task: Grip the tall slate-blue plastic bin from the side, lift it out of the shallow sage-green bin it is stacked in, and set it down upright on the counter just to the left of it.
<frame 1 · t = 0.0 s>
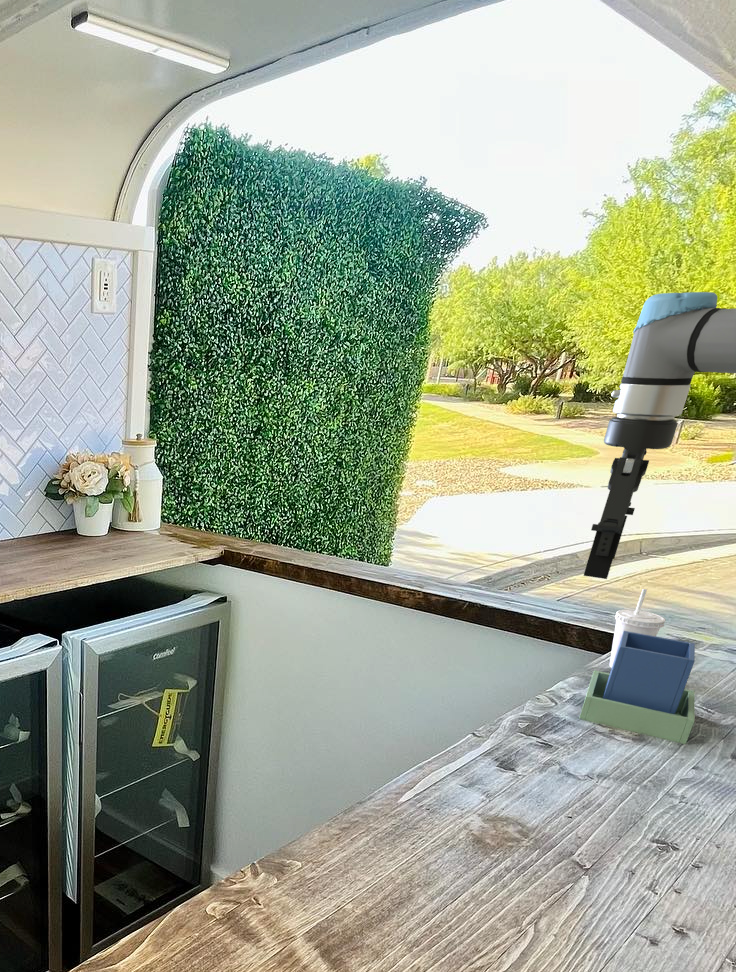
hand: (599, 566, 113), 20 cm above the countertop, tool pointing down, fingers open, 13 cm apart
upper bin: (633, 715, 110), point 1 cm above the countertop, touching lower bin
smoothie: (622, 671, 126), on the countertop
lower bin: (631, 719, 110), on the countertop
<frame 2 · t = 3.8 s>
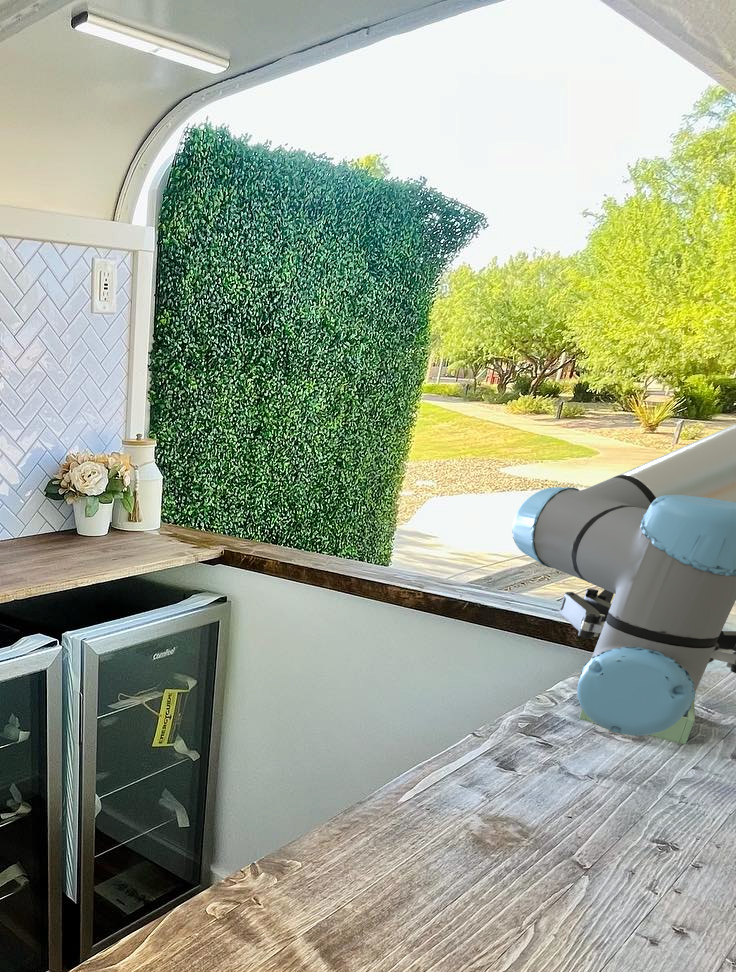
hand: (680, 611, 87), 22 cm above the countertop, tool horizontal, fingers open, 13 cm apart
nothing on the countertop moved.
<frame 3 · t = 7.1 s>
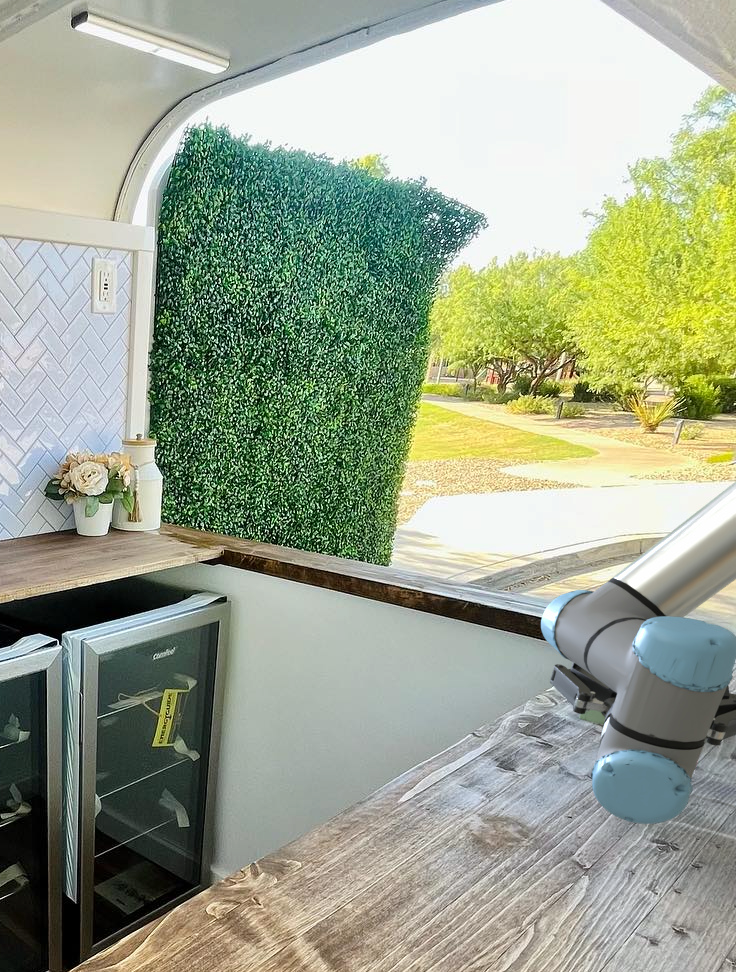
hand: (651, 673, 100), 10 cm above the countertop, tool horizontal, fingers open, 13 cm apart
nothing on the countertop moved.
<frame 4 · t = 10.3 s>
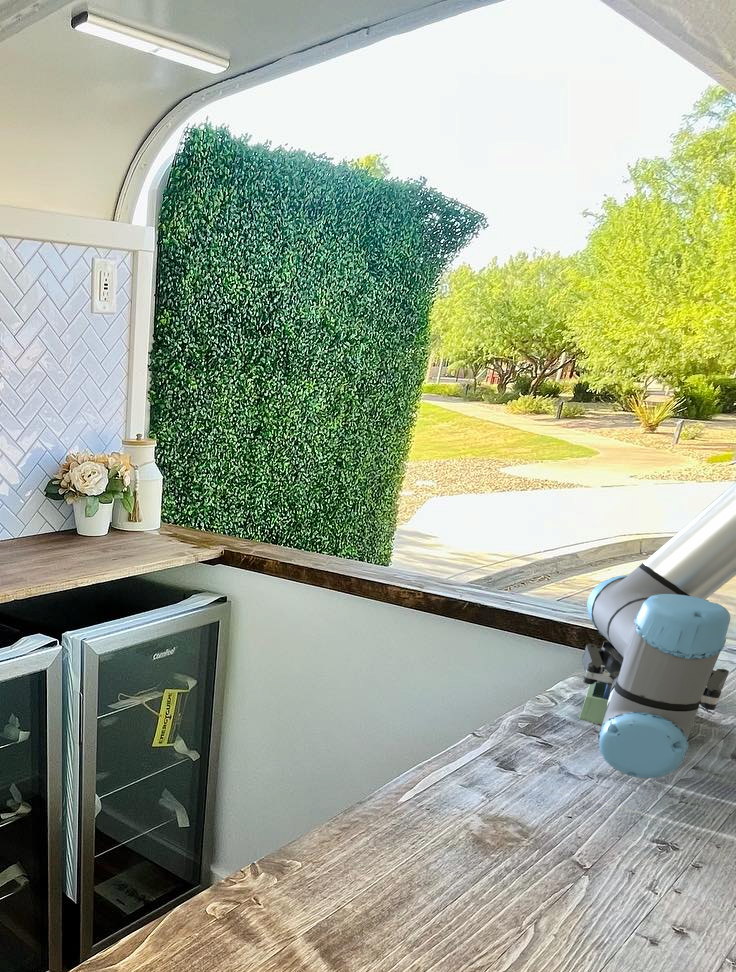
hand: (654, 648, 110), 9 cm above the countertop, tool horizontal, fingers closed on upper bin, 8 cm apart
upper bin: (633, 715, 110), point 1 cm above the countertop, touching gripper, lower bin
everything else where it was.
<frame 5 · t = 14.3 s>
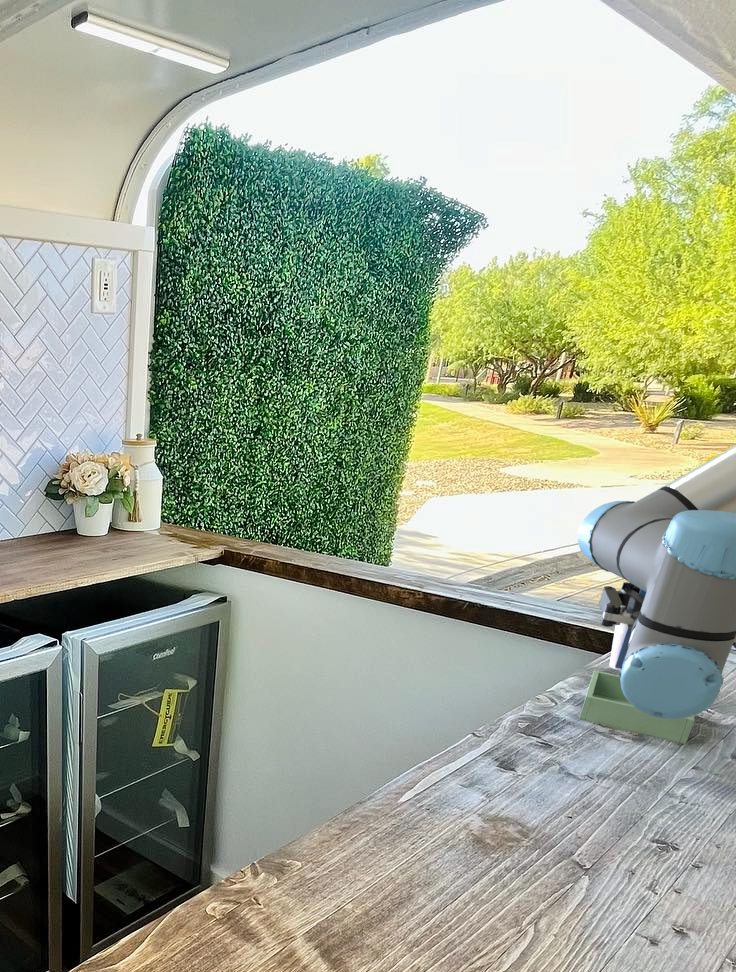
hand: (678, 592, 100), 20 cm above the countertop, tool horizontal, fingers closed on upper bin, 8 cm apart
upper bin: (654, 666, 100), point 11 cm above the countertop, touching gripper
everything else where it was.
when the fingers open (9 cm above the countertop, at t = 18.4 s): upper bin stays where it is, on the countertop.
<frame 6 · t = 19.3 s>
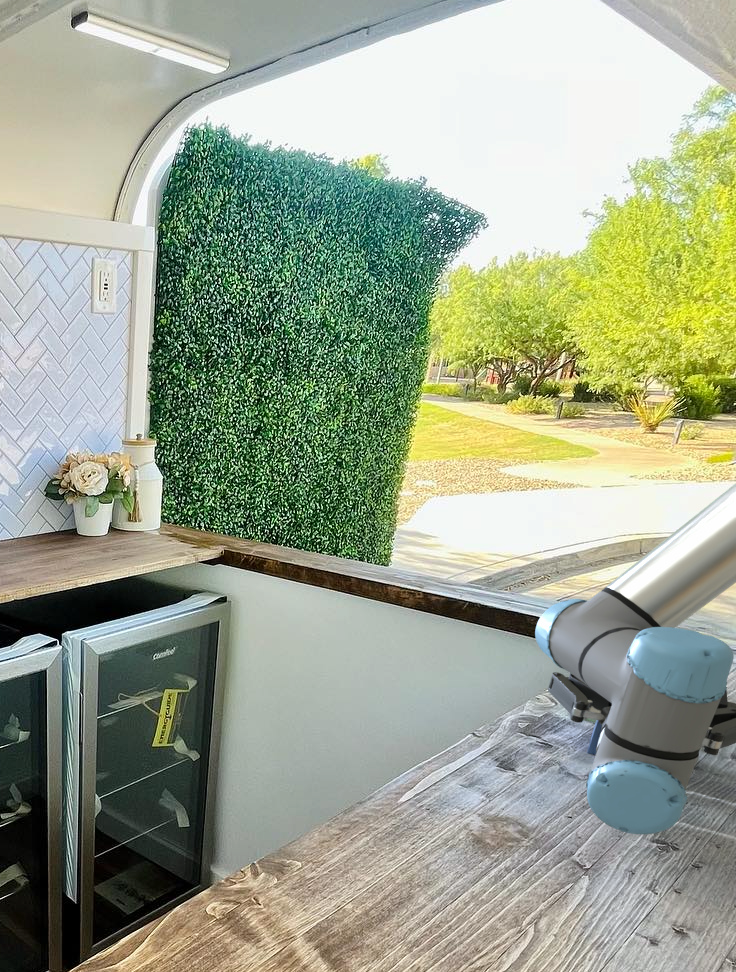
hand: (650, 681, 100), 10 cm above the countertop, tool horizontal, fingers open, 13 cm apart
upper bin: (625, 754, 101), on the countertop
everything else where it was.
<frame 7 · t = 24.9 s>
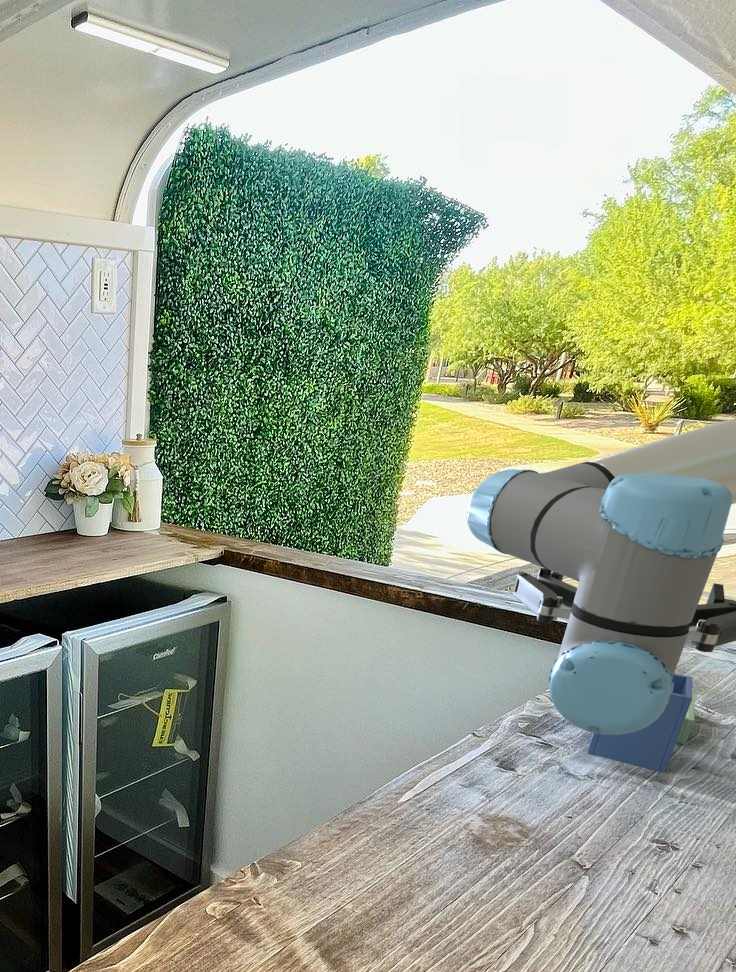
hand: (633, 584, 84), 26 cm above the countertop, tool horizontal, fingers open, 13 cm apart
nothing on the countertop moved.
at the end: upper bin inside the target area (0.1 cm from its centre), on the countertop; upper bin touching countertop; upper bin tilted 0° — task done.
